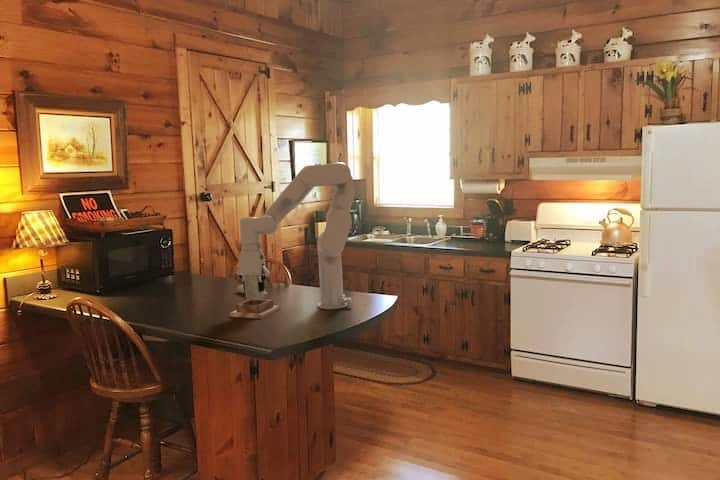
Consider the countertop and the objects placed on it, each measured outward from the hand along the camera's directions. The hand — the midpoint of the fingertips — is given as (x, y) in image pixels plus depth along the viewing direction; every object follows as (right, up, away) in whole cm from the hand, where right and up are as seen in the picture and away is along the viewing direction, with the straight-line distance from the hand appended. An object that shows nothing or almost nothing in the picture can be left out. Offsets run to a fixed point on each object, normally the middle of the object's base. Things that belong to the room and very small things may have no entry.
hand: (254, 290), depth 246 cm
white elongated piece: (-7, -6, +35) cm, 36 cm away
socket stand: (0, -9, +1) cm, 9 cm away
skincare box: (0, -4, 0) cm, 4 cm away
